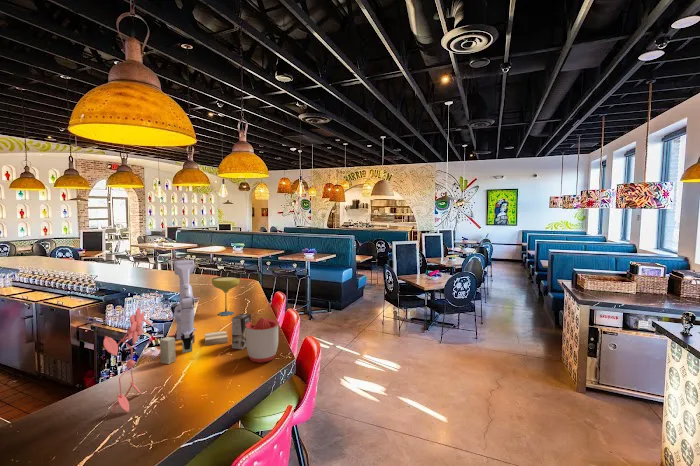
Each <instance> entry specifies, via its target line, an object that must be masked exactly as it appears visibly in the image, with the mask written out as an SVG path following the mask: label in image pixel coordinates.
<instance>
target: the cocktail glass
mask: <svg viewBox="0 0 700 466" xmlns="http://www.w3.org/2000/svg"><path fill="white" fill-rule="evenodd" d="M211 284H212V286H213V287H214V288H216V289H219V290H221V291H222V292H223V293H224V294H225V302H224V303H225V305H224V307H225V309H224V311H221V312H218V313H219V315H222V316H221V317H228V315H230V316H233V315H234V314H235V312H234V311H231V310H229V311H228V308H227V293H228V292H230V290H233V288H235V287H237V286H238V285H239V284H240V277H238V276H234V275H233V276H232V275H231V276H230V275H227V276H225V275H224V276H217V277H213V278H212V279H211ZM232 314H233V315H232ZM219 315H218V316H219Z"/></svg>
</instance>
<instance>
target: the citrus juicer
mask: <svg viewBox="0 0 700 466" xmlns="http://www.w3.org/2000/svg"><path fill="white" fill-rule="evenodd" d="M279 324H280V322H279V321H278V320H276V319H271V318H264V317H261V318H260V319H258V321H257V322H256V324H253V323H252V321H251V322H248V323H247V324H246V351H247V354H248V357H249V359H250V361H251V362H254V363H258V364H260V363H261V364H262V363H266V362H270V361H272V360H274V358H275V357H276V355H277V350H278V347H279Z"/></svg>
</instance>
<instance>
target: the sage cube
mask: <svg viewBox="0 0 700 466" xmlns="http://www.w3.org/2000/svg"><path fill="white" fill-rule="evenodd" d="M181 345H182V346H181V348H182V354H184V353H185V354H186V353H190V352H193V343H192V340H191V345H190V349H187V350H185V348H184V343H183V341H182V344H181Z"/></svg>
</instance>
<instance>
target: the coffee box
mask: <svg viewBox="0 0 700 466" xmlns="http://www.w3.org/2000/svg"><path fill="white" fill-rule="evenodd" d="M248 322H251V323H252V314H251V313H239V314H238V315H235V316H233V317H231V348H232V349H236V350H237V349H238V350H244V349H245V348H247V346H246V324H247V323H248Z"/></svg>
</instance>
